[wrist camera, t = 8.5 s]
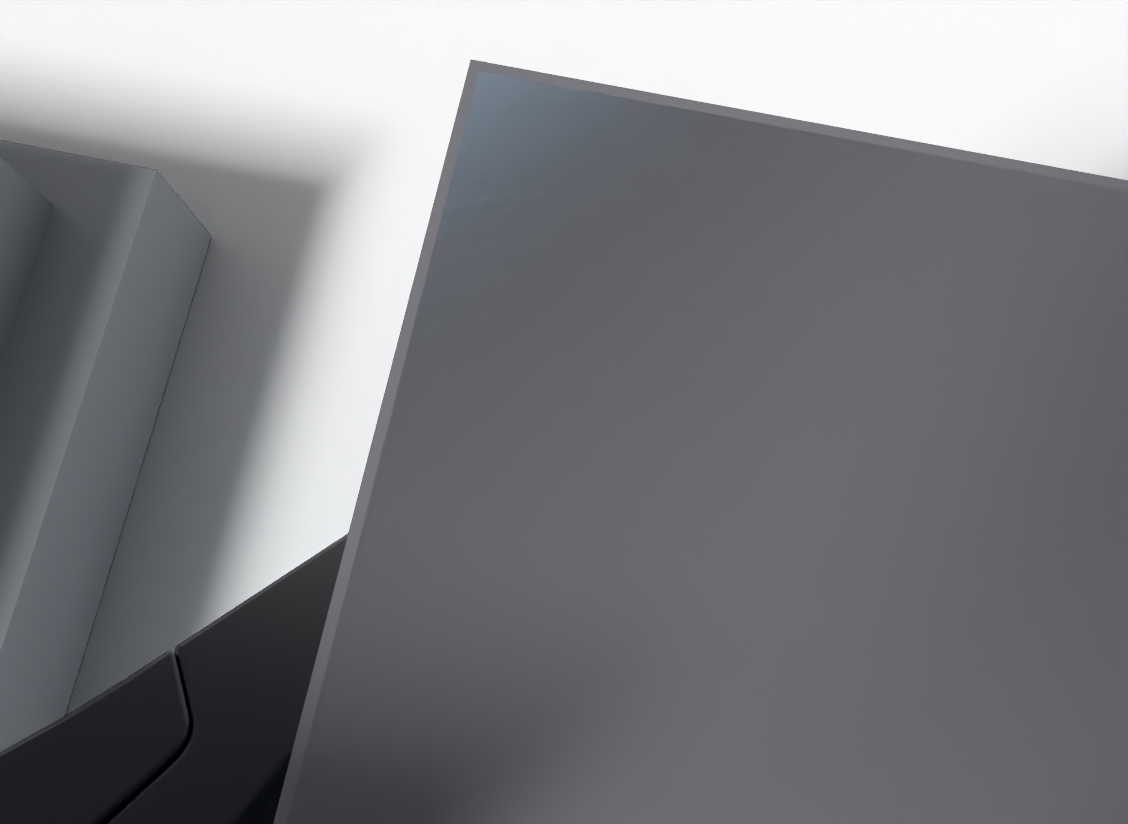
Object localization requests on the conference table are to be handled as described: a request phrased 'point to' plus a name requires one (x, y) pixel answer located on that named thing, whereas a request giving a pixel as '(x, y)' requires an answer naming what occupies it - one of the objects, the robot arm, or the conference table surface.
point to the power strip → (76, 395)
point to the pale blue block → (735, 484)
